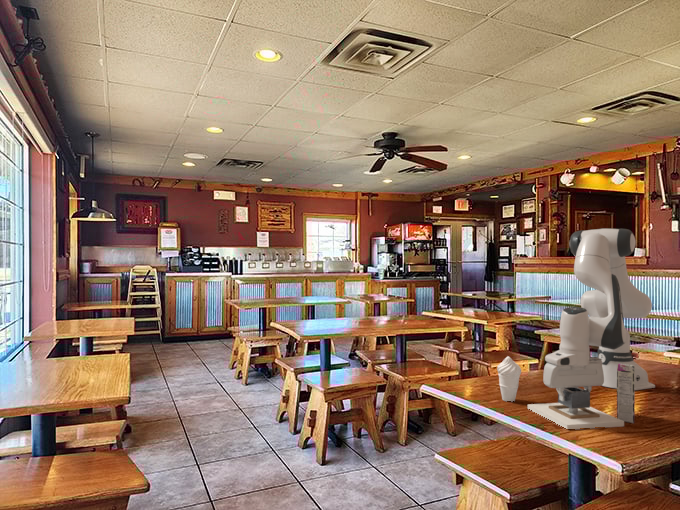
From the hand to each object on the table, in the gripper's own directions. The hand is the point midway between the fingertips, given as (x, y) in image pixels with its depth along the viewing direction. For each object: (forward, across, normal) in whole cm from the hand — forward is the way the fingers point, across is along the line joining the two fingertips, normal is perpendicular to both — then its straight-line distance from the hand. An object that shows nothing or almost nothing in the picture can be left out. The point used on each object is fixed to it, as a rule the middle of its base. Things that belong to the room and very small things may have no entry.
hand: (573, 399), depth 153 cm
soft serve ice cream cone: (+6, +11, -20) cm, 24 cm away
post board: (+6, 0, 0) cm, 6 cm away
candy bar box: (+6, -17, +3) cm, 18 cm away
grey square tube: (+2, 0, 0) cm, 2 cm away
